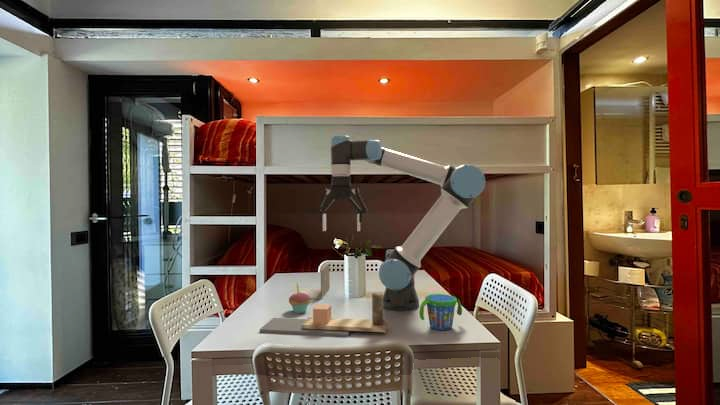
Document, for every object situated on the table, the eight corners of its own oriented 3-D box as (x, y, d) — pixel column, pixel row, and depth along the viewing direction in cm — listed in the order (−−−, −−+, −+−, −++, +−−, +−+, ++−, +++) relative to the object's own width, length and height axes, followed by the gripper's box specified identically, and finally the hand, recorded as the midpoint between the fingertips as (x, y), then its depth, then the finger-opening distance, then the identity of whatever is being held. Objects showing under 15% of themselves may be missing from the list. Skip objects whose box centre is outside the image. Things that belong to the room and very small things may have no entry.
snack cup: (454, 320, 135) (454, 292, 135) (469, 330, 125) (469, 300, 125) (413, 323, 132) (413, 295, 132) (425, 334, 121) (425, 303, 121)
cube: (331, 319, 130) (331, 305, 130) (327, 324, 125) (327, 309, 125) (317, 318, 130) (317, 304, 130) (313, 323, 126) (313, 308, 125)
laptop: (304, 289, 184) (304, 262, 183) (329, 289, 182) (329, 263, 182) (294, 299, 166) (293, 270, 165) (321, 300, 164) (321, 270, 164)
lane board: (354, 324, 132) (354, 321, 132) (347, 336, 120) (347, 333, 120) (273, 320, 137) (273, 317, 137) (259, 332, 125) (259, 329, 125)
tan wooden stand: (387, 323, 128) (387, 291, 128) (385, 332, 120) (385, 297, 120) (308, 320, 133) (308, 288, 132) (301, 328, 125) (301, 294, 124)
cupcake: (306, 315, 143) (305, 283, 142) (285, 314, 144) (284, 283, 144) (313, 308, 151) (312, 278, 151) (293, 307, 153) (292, 278, 152)
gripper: (374, 176, 147) (374, 230, 147) (312, 177, 151) (313, 229, 151) (371, 175, 139) (372, 231, 140) (307, 176, 143) (307, 231, 144)
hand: (341, 230), depth 145 cm, fingers open, 13 cm apart
